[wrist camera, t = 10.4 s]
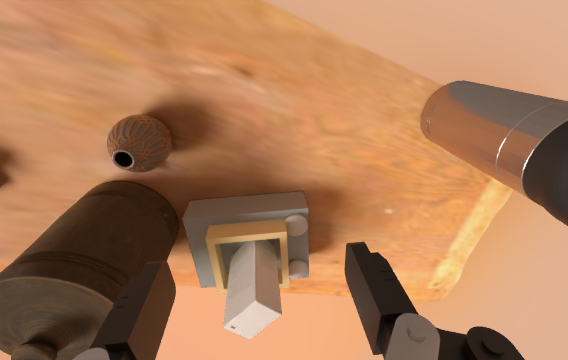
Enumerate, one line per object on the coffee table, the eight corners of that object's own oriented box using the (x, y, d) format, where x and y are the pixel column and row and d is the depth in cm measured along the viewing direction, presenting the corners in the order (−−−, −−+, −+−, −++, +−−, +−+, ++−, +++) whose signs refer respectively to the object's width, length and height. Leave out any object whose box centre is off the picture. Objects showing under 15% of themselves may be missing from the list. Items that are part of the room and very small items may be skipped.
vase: (166, 105, 35) (141, 123, 28) (184, 152, 39) (165, 181, 31) (115, 114, 35) (75, 135, 28) (137, 161, 39) (107, 192, 31)
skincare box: (251, 267, 43) (249, 341, 33) (230, 255, 42) (220, 328, 31) (277, 245, 41) (283, 315, 31) (256, 231, 40) (255, 300, 29)
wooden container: (74, 241, 44) (-72, 400, 25) (88, 165, 38) (-88, 296, 19) (165, 265, 48) (102, 418, 29) (190, 200, 42) (133, 336, 23)
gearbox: (303, 191, 43) (311, 220, 36) (304, 255, 50) (311, 291, 43) (190, 200, 42) (176, 232, 35) (206, 265, 49) (197, 303, 42)
